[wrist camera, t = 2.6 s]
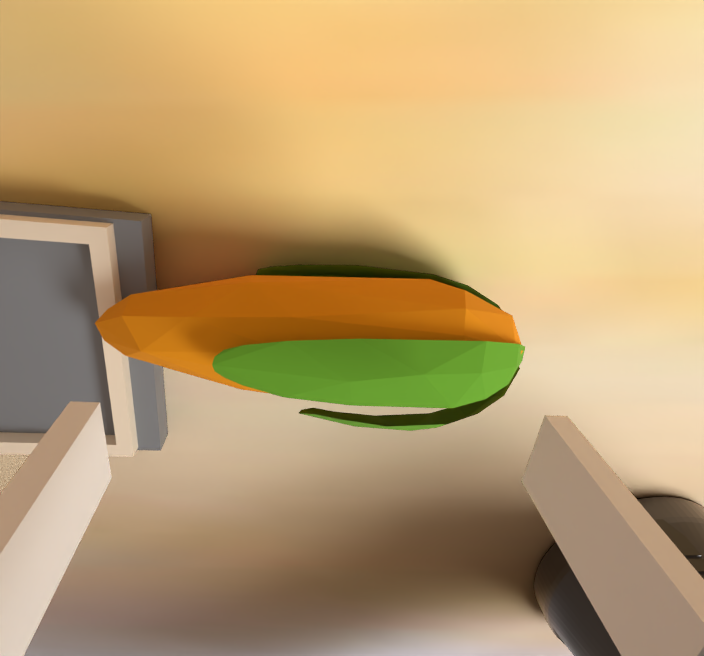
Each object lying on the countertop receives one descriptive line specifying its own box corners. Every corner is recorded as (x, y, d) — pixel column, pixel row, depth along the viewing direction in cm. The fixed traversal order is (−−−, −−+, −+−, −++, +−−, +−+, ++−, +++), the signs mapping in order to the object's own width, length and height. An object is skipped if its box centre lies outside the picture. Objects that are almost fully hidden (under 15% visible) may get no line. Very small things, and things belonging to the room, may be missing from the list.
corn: (535, 467, 21) (65, 458, 18) (477, 386, 28) (130, 371, 25) (581, 315, 18) (38, 278, 16) (504, 267, 25) (120, 236, 23)
